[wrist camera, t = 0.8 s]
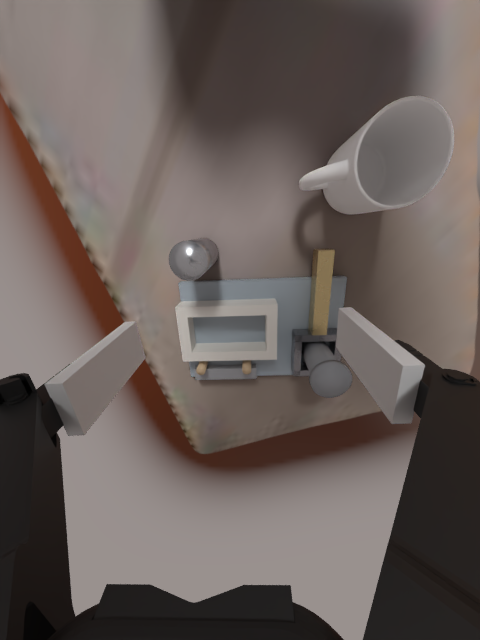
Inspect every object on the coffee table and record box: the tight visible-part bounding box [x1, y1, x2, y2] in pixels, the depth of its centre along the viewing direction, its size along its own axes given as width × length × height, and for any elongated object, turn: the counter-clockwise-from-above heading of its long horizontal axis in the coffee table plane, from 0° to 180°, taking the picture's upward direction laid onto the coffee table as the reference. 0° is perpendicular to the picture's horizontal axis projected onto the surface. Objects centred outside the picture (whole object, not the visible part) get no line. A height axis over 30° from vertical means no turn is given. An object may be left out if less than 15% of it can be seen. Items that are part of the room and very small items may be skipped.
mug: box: [299, 96, 454, 215], centre depth 25 cm, size 12×8×10 cm
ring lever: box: [291, 249, 341, 376], centre depth 34 cm, size 18×7×2 cm, turn 2°
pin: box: [169, 238, 219, 281], centre depth 29 cm, size 4×4×10 cm
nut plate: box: [175, 276, 352, 398], centre depth 33 cm, size 16×24×10 cm, turn 92°
